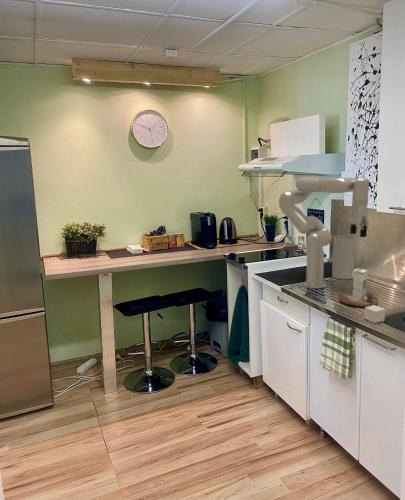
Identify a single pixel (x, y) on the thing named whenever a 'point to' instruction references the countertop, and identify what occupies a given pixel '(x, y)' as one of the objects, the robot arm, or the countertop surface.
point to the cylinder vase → (343, 257)
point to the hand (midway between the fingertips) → (358, 235)
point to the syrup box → (359, 283)
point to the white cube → (374, 313)
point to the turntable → (366, 301)
